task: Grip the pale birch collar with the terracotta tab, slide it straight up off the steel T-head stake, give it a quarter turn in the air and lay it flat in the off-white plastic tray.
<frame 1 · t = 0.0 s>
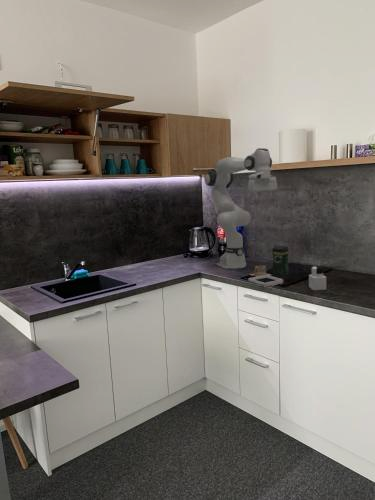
hand: (263, 198, 237), 48 cm above the worktop, fingers open, 8 cm apart
coffee jar: (280, 275, 243), on the worktop
collar: (260, 274, 241), point 1 cm above the worktop, touching stake
medicine bottle: (317, 288, 210), on the worktop
stake: (260, 276, 241), on the worktop
tray: (265, 283, 225), on the worktop
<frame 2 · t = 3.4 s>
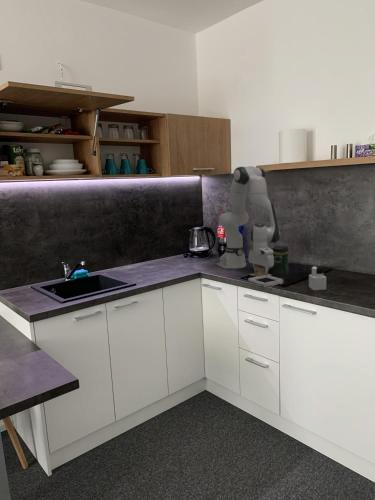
hand: (260, 271, 241), 3 cm above the worktop, fingers open, 8 cm apart
collar: (261, 274, 240), point 1 cm above the worktop, touching gripper, stake
everything else where it was.
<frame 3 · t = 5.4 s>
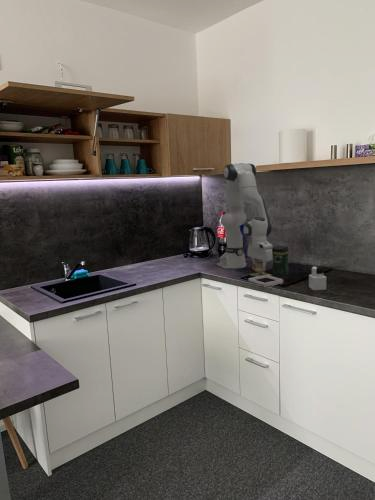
hand: (259, 265, 240), 7 cm above the worktop, fingers closed on collar, 7 cm apart
collar: (260, 270, 241), point 4 cm above the worktop, touching gripper
everything else where it was.
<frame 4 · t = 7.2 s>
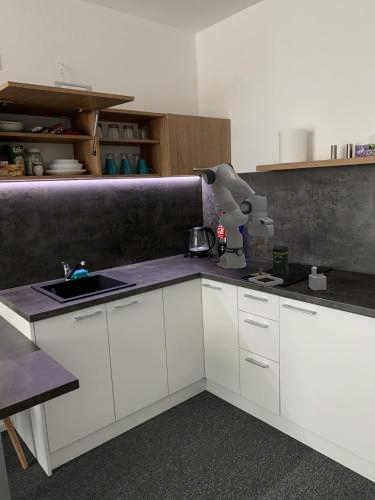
hand: (260, 243, 235), 21 cm above the worktop, fingers closed on collar, 7 cm apart
collar: (261, 248, 235), point 18 cm above the worktop, tilted 5°, touching gripper
everything else where it was.
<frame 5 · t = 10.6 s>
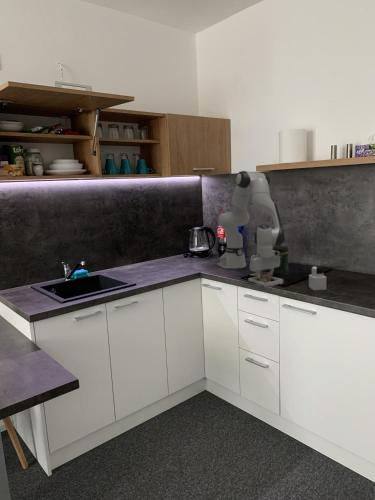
hand: (265, 276, 225), 4 cm above the worktop, fingers closed on collar, 7 cm apart
collar: (264, 281, 226), point 1 cm above the worktop, touching gripper, tray
everything else where it was.
when the fingers open (4 cm above the worktop, at t = 11.4 s): collar stays where it is, resting on tray.
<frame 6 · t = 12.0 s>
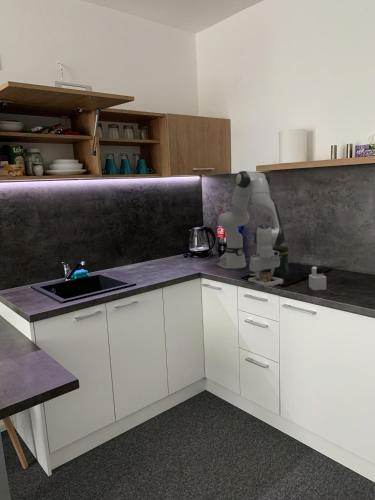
hand: (264, 276, 225), 4 cm above the worktop, fingers open, 8 cm apart
collar: (264, 281, 226), point 1 cm above the worktop, touching tray
everything else where it was.
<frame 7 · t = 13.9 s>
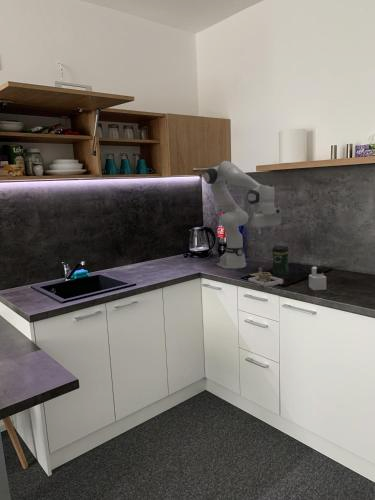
hand: (266, 233, 236), 27 cm above the worktop, fingers open, 8 cm apart
nothing on the worktop moved.
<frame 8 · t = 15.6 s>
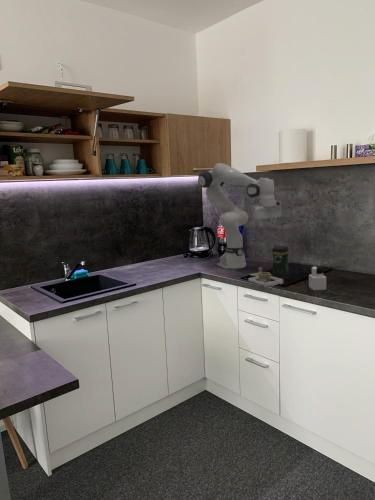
hand: (267, 225, 240), 31 cm above the worktop, fingers open, 8 cm apart
nothing on the worktop moved.
at the end: collar inside the target area on the tray (1.0 cm from its centre), point 0.6 cm above the tray's base; collar tilted 0°; the gripper is holding nothing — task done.
